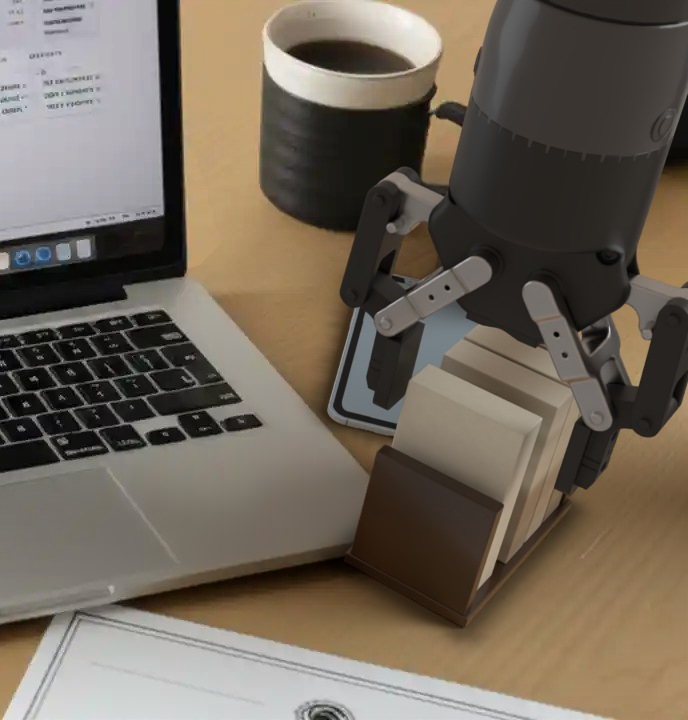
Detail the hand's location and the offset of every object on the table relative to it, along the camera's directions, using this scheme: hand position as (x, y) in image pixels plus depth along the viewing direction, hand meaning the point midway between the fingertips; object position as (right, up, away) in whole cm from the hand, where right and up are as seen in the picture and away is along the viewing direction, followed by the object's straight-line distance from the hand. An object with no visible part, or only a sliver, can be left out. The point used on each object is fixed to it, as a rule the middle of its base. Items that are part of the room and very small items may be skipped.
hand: (476, 440), depth 71 cm
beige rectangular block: (-1, -5, +5) cm, 7 cm away
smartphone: (+1, +3, +19) cm, 19 cm away
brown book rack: (+1, -5, +7) cm, 8 cm away
